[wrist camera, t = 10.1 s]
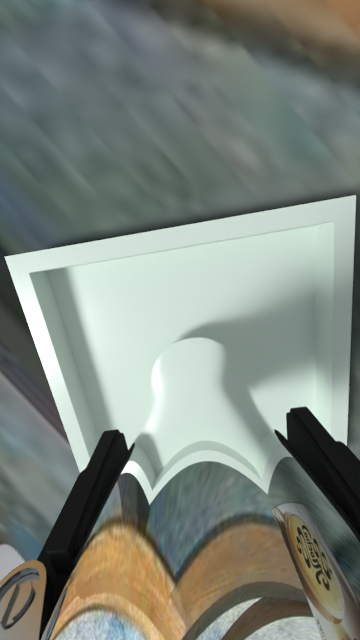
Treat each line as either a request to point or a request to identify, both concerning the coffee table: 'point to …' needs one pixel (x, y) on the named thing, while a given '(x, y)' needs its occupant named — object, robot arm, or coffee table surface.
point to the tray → (196, 314)
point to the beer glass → (212, 524)
